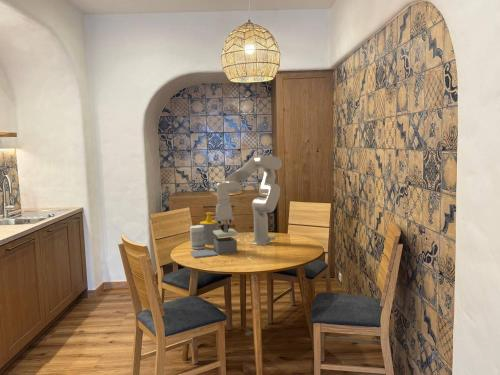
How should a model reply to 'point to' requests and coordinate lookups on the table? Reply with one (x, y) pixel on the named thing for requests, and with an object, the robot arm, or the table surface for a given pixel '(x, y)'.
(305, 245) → the table surface
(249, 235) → the table surface
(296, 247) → the table surface
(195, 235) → the supplement tub
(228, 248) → the parts tub
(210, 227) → the soap bottle
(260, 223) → the robot arm
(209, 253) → the mat
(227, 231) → the lid
